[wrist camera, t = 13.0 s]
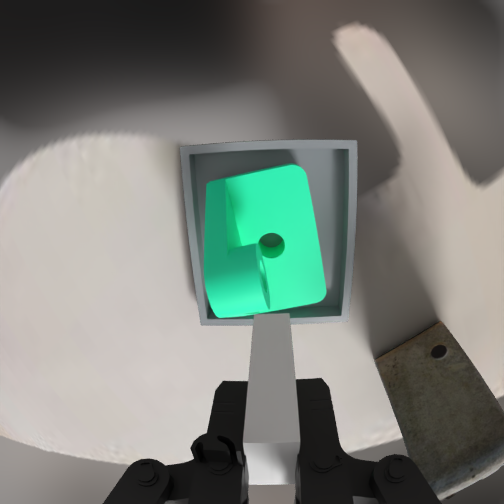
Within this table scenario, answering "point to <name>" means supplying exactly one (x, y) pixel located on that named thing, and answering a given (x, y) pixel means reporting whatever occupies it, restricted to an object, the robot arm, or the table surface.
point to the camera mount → (253, 251)
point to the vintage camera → (443, 410)
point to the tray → (327, 223)
